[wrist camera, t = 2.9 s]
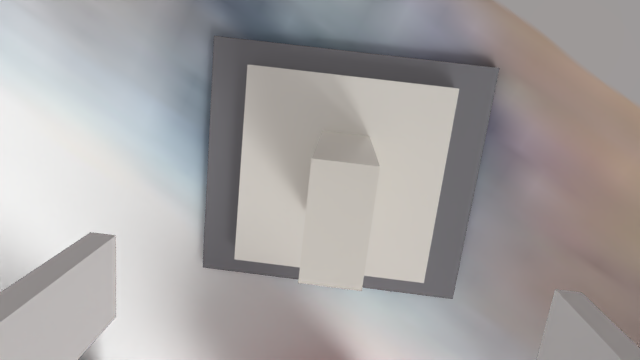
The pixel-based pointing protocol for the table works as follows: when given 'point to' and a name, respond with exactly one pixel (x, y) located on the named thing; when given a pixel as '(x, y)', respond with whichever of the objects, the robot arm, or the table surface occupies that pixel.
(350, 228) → the lid
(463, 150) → the mat
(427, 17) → the table surface
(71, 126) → the table surface
